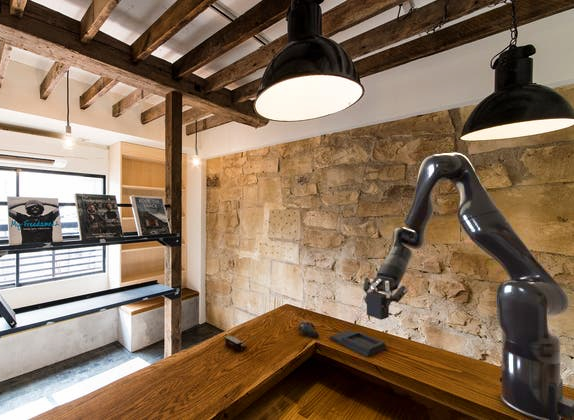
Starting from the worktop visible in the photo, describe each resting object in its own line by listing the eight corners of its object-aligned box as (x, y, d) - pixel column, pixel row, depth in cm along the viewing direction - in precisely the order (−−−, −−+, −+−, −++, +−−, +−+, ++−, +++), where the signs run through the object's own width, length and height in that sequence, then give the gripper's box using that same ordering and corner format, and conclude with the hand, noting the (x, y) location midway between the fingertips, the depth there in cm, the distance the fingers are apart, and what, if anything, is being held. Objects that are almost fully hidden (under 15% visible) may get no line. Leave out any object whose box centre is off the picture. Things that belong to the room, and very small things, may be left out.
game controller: (320, 336, 102) (309, 324, 103) (310, 345, 103) (299, 333, 104) (315, 325, 112) (304, 315, 112) (305, 333, 112) (295, 323, 113)
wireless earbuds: (239, 354, 91) (239, 344, 91) (224, 345, 97) (224, 337, 97) (247, 349, 94) (247, 340, 94) (232, 341, 100) (232, 333, 100)
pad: (386, 348, 95) (386, 341, 95) (367, 357, 90) (367, 350, 90) (348, 332, 108) (349, 326, 108) (330, 339, 102) (330, 333, 102)
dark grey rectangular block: (388, 317, 94) (388, 295, 94) (381, 320, 92) (381, 297, 92) (374, 312, 98) (374, 291, 98) (366, 314, 96) (366, 293, 96)
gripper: (369, 259, 105) (350, 293, 99) (411, 266, 92) (393, 306, 86) (376, 271, 107) (359, 305, 102) (418, 279, 94) (401, 319, 89)
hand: (374, 305), depth 94 cm, fingers closed on dark grey rectangular block, 5 cm apart
